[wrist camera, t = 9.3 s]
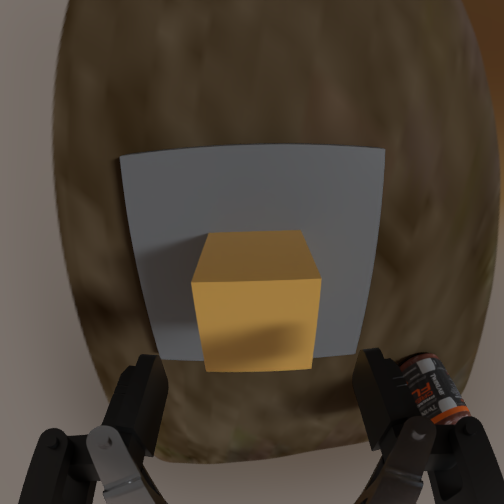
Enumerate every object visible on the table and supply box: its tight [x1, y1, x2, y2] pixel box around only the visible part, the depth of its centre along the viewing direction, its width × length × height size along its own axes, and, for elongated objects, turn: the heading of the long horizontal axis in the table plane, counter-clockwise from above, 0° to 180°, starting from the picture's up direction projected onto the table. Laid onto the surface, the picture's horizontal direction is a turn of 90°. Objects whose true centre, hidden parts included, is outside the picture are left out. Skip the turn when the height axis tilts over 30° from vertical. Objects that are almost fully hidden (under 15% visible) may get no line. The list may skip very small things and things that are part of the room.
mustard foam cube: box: [191, 230, 322, 372], centre depth 16 cm, size 6×6×6 cm
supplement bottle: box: [400, 353, 471, 425], centre depth 20 cm, size 6×6×11 cm
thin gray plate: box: [120, 143, 385, 361], centre depth 18 cm, size 16×16×5 cm
